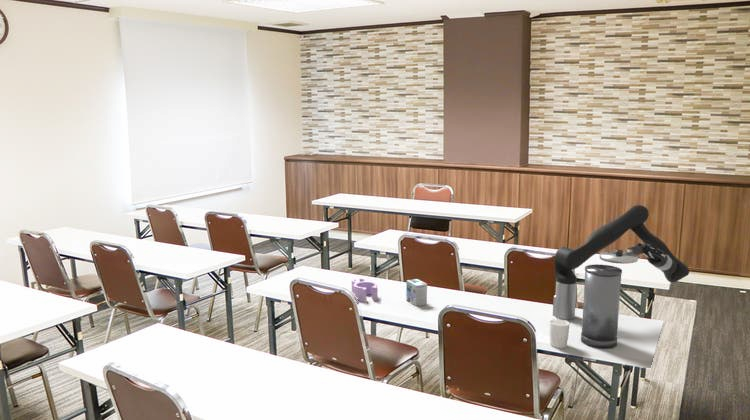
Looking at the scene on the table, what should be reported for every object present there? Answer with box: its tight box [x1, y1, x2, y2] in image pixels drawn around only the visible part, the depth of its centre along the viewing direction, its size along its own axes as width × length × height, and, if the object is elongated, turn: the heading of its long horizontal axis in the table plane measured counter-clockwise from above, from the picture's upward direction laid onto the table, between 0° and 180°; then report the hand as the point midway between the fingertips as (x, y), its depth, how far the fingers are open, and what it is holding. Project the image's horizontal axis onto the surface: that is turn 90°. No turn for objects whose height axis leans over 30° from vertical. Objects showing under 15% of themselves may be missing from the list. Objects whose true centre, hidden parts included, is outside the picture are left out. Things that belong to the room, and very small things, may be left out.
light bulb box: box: [405, 278, 428, 306], centre depth 305 cm, size 11×7×11 cm, turn 25°
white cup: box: [549, 318, 570, 349], centre depth 249 cm, size 8×8×10 cm
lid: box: [599, 243, 651, 265], centre depth 255 cm, size 15×28×4 cm, turn 123°
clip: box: [351, 277, 379, 302], centre depth 316 cm, size 20×12×7 cm, turn 22°
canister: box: [580, 263, 623, 350], centre depth 250 cm, size 14×14×32 cm
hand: (641, 245), depth 259 cm, fingers closed on lid, 2 cm apart
